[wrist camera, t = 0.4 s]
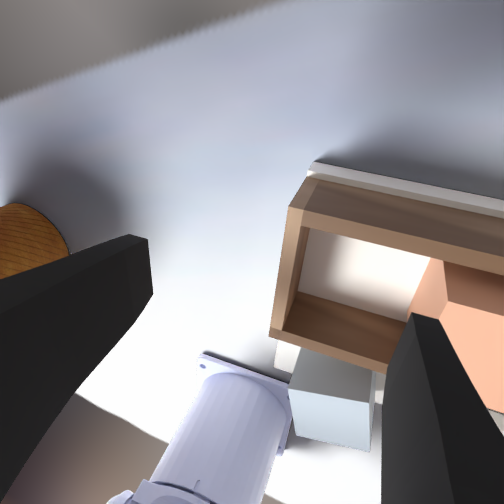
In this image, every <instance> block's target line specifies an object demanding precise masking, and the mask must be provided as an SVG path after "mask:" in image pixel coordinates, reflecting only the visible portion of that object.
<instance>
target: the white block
mask: <svg viewBox="0 0 504 504" xmlns="http://www.w3.org/2000/svg"><path fill="white" fill-rule="evenodd" d="M375 391H376V371H373V370H370V369H367V368H364V367H361V366H357V365H354V364H351V363H348V362H345V361H342V360H339V359H336V358H333V357H330V356H327V355H324V354H321V353H318V352H315V351H312V350H308V349H305V348H302V347H301V349H300V352H299V355H298V358H297V361H296V364H295V367H294V370H293V373H292V377H291V380H290V383H289V386H288V393H289V399H290V404H291V410H292V415H293V421H294V427H295V432H296V436H300V437H305V438H309V439H313V440H318V441H322V442H326V443H331V444H335V445H339V446H344V447H348V448H352V449H357V450H361V451H365V452H370V445H371V434H372V424H373V413H374V402H375Z"/></svg>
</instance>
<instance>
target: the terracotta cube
mask: <svg viewBox="0 0 504 504" xmlns="http://www.w3.org/2000/svg"><path fill="white" fill-rule="evenodd" d="M411 312H414V313H417V314H421V315H424V316H428V317H432V318H435V319H439V321H440V322H441V324H442V326H443V328H444V330H445V332H446V334H447V336H448V338H449V340H450V342H451V344H452V346H453V348H454V350H455V352H456V353H457V355H458V357H459V359H460V361H461V363H462V365H463V367H464V369H465V371H466V372H467V374H468V376H469V378H470V380H471V382H472V383H473V385H474V387H475V389H476V390H477V392H478V394H479V396H480V397H481V399H482V401H483V403H484V404H485V406H486V408H489V409H492V410H495V411H498V412H501V413H504V276H503V275H499V274H495V273H491V272H487V271H483V270H479V269H475V268H471V267H467V266H463V265H459V264H455V263H451V262H447V261H443V260H438V259H434V258H430V261H429V263H428V265H427V267H426V270H425V272H424V274H423V276H422V279H421V281H420V283H419V285H418V288H417V290H416V292H415V294H414V297H413V299H412V301H411V303H410V306H409V308H408V310H407V321H408V319H409V317H410V314H411Z"/></svg>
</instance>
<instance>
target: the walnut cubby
mask: <svg viewBox="0 0 504 504" xmlns="http://www.w3.org/2000/svg"><path fill="white" fill-rule="evenodd" d="M310 228H313V229H317V230H321V231H325V232H329V233H333V234H337V235H341V236H345V237H349V238H353V239H357V240H361V241H365V242H370V243H374V244H378V245H382V246H386V247H390V248H394V249H398V250H402V251H406V252H410V253H414V254H418V255H422V256H426V257H430V258H434V259H438V260H443V261H447V262H451V263H455V264H459V265H463V266H467V267H471V268H475V269H479V270H483V271H487V272H491V273H495V274H499V275H503V276H504V219H503V218H499V217H494V216H489V215H485V214H480V213H475V212H471V211H466V210H461V209H456V208H452V207H447V206H442V205H438V204H433V203H428V202H424V201H419V200H414V199H410V198H405V197H400V196H396V195H391V194H386V193H382V192H377V191H372V190H368V189H363V188H358V187H353V186H349V185H344V184H339V183H335V182H330V181H325V180H321V179H316V178H311V177H306V179H305V180H304V182H303V183H302V185H301V187H300V188H299V190H298V192H297V193H296V195H295V196H294V198H293V200H292V201H291V203H290V205H289V206H288V213H287V219H286V226H285V232H284V239H283V245H282V252H281V258H280V265H279V272H278V278H277V285H276V291H275V298H274V304H273V311H272V317H271V324H270V331H269V337H272V338H275V339H278V340H281V341H284V342H287V343H290V344H293V345H296V346H299V347H302V348H305V349H308V350H312V351H315V352H318V353H321V354H324V355H327V356H330V357H333V358H336V359H339V360H342V361H345V362H348V363H351V364H354V365H357V366H361V367H364V368H367V369H370V370H373V371H376V372H379V373H382V374H385V375H386V373H387V367H388V365H389V362H390V360H391V358H392V355H393V353H394V351H395V349H396V346H397V344H398V342H399V339H400V337H401V335H402V333H403V330H404V328H405V326H406V322H403V321H399V320H396V319H393V318H389V317H386V316H382V315H379V314H375V313H372V312H368V311H365V310H362V309H358V308H355V307H351V306H348V305H344V304H341V303H337V302H334V301H331V300H327V299H324V298H320V297H317V296H313V295H310V294H306V293H303V292H300V291H298V286H299V281H300V276H301V271H302V266H303V261H304V256H305V251H306V246H307V241H308V236H309V231H310Z"/></svg>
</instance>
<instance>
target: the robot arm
mask: <svg viewBox="0 0 504 504" xmlns="http://www.w3.org/2000/svg"><path fill="white" fill-rule="evenodd" d="M152 295H153V286H152V277H151V267H150V257H149V248H148V239H145V238H141V237H138V236H134V235H131V234H128V235H125V236H121V237H118V238H115V239H112V240H109V241H107V242H104V243H101V244H98V245H96V246H93V247H90V248H88V249H85V250H82V251H80V252H77V253H74V254H72V255H69V256H66V257H64V258H61V259H58V260H56V261H53V262H50V263H47V264H44V265H41V266H38V267H35V268H32V269H29V270H26V271H23V272H21V273H18V274H15V275H12V276H9V277H5V278H2V279H0V503H1V501H2V499H3V498H4V496H5V494H6V493H7V491H8V490H9V488H10V487H11V485H12V483H13V482H14V480H15V478H16V477H17V475H18V474H19V472H20V471H21V469H22V467H23V466H24V464H25V463H26V461H27V460H28V458H29V457H30V455H31V454H32V452H33V451H34V449H35V448H36V446H37V445H38V443H39V442H40V440H41V439H42V437H43V436H44V434H45V433H46V431H47V430H48V428H49V427H50V426H51V424H52V423H53V421H54V420H55V418H56V417H57V416H58V414H59V413H60V412H61V410H62V409H63V407H64V406H65V405H66V403H67V402H68V400H69V399H70V397H71V396H72V395H73V394H74V393H75V391H76V390H77V389H78V388H79V386H80V385H81V384H82V383H83V381H84V380H85V379H86V378H87V377H88V376H89V375H90V373H91V372H92V371H93V370H94V369H95V368H96V367H97V365H98V364H99V363H100V362H101V361H102V360H103V359H104V357H105V356H106V355H107V354H108V353H109V352H110V351H111V349H112V348H113V347H114V346H115V345H116V344H117V343H118V341H119V340H120V339H121V338H122V337H123V336H124V334H125V333H126V332H127V331H128V330H129V329H130V327H131V326H132V325H133V324H134V323H135V321H136V320H137V318H138V317H139V315H140V314H141V312H142V311H143V310H144V308H145V306H146V305H147V303H148V302H149V300H150V298H151V297H152ZM288 386H289V384H287V383H284V382H281V381H279V380H276V379H273V378H270V377H267V376H264V375H262V374H259V373H256V372H253V371H250V370H247V369H245V368H242V367H239V366H236V365H233V364H230V363H228V362H225V361H222V360H219V359H216V358H213V357H211V356H208V355H205V354H200V355H199V357H198V359H197V387H198V393H197V395H196V397H195V398H194V400H193V402H192V404H191V406H190V407H189V409H188V411H187V413H186V415H185V417H184V418H183V420H182V422H181V424H180V426H179V427H178V429H177V431H176V433H175V435H174V436H173V438H172V440H171V442H170V444H169V445H168V447H167V449H166V451H165V453H164V455H163V456H162V458H161V460H160V462H159V464H158V465H157V467H156V469H155V471H154V473H153V475H152V477H151V478H150V480H149V481H147V480H145V479H143V480H142V482H141V483H140V485H139V487H138V489H137V490H136V492H135V493H133V492H132V491H130V490H126V491H123V492H122V493H121V494H119V495H117V496H114V497H113V498H111V499H110V500H109V501H108V502H107V503H106V504H261V502H262V498H263V495H264V492H265V488H266V485H267V482H268V479H269V475H270V472H271V469H272V465H273V462H274V459H275V455H276V456H282V455H283V452H284V449H285V445H286V441H287V437H288V433H289V429H290V425H291V421H292V417H293V415H292V410H291V404H290V399H289V393H288ZM381 504H504V436H503V434H502V432H501V431H500V429H499V428H498V426H497V424H496V423H495V421H494V419H493V418H492V416H491V415H490V413H489V411H488V410H487V408H486V406H485V404H484V403H483V401H482V399H481V397H480V396H479V394H478V392H477V390H476V389H475V387H474V385H473V383H472V382H471V380H470V378H469V376H468V374H467V372H466V371H465V369H464V367H463V365H462V363H461V361H460V359H459V357H458V355H457V353H456V352H455V350H454V348H453V346H452V344H451V342H450V340H449V338H448V336H447V334H446V332H445V330H444V328H443V326H442V324H441V322H440V321H439V319H435V318H432V317H428V316H424V315H421V314H417V313H414V312H411V314H410V317H409V319H408V321H407V323H406V326H405V328H404V330H403V333H402V335H401V337H400V339H399V342H398V344H397V346H396V349H395V351H394V353H393V355H392V358H391V360H390V362H389V365H388V367H387V373H386V380H385V387H384V395H383V403H382V470H381Z"/></svg>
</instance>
